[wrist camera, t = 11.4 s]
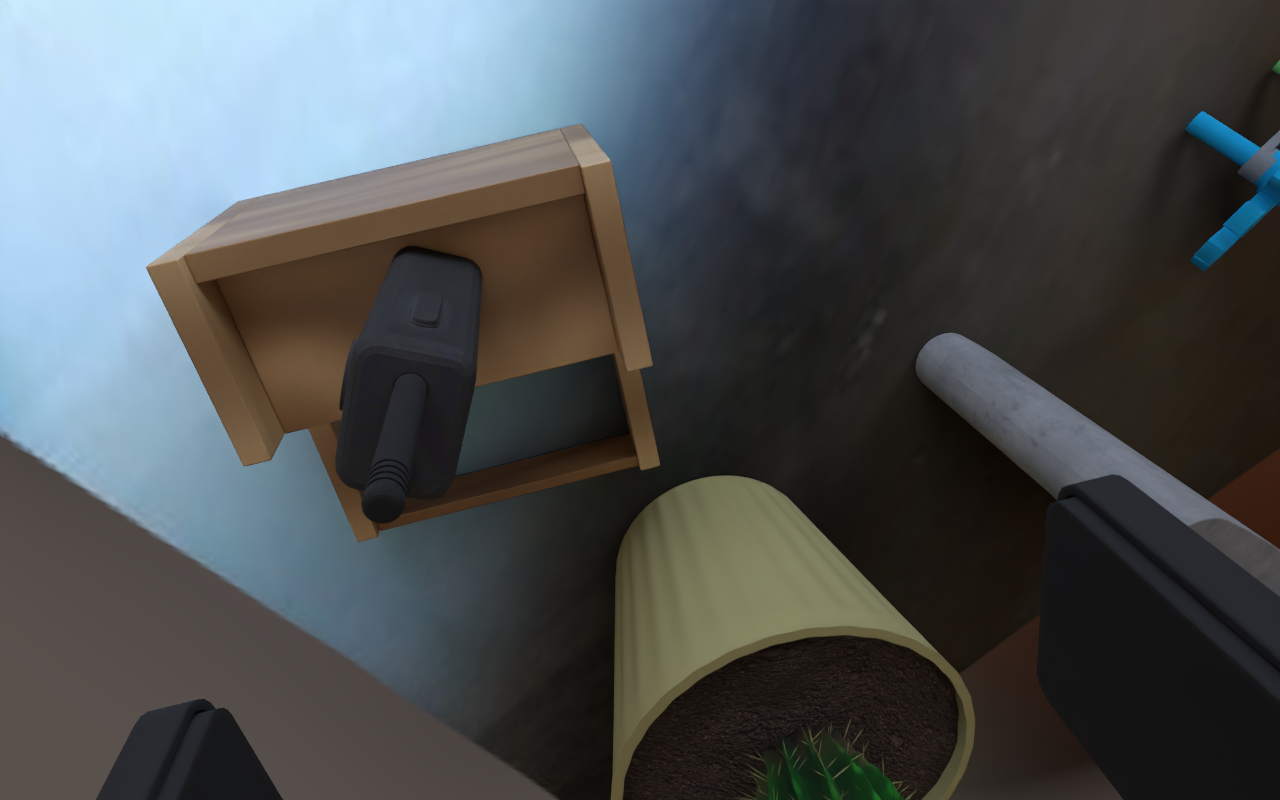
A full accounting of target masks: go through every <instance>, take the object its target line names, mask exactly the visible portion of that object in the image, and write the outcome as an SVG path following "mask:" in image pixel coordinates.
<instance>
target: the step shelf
mask: <svg viewBox="0 0 1280 800" xmlns="http://www.w3.org/2000/svg"><path fill="white" fill-rule="evenodd" d="M407 246H417V247H422V248H426V249H430V250H435V251H439V252H443V253H448V254H452V255H457V256H461V257H465V258H468V259H470V260H472V261H474V262H475V263H476V264H477V265H478V266H479V267H480V270H481V272H482V295H481V310H480V326H479V342H478V358H477V373H476V383H475V387H479V386H483V385H487V384H491V383H495V382H499V381H503V380H507V379H511V378H515V377H519V376H524V375H528V374H532V373H536V372H540V371H544V370H548V369H552V368H556V367H560V366H565V365H569V364H573V363H577V362H581V361H585V360H589V359H593V358H597V357H601V356H605V355H610V354H612V358H613V362H614V367H615V371H616V375H617V380H618V384H619V388H620V393H621V397H622V401H623V406H624V410H625V415H626V419H627V423H628V428H629V432H630V434H629V433H628V434H624V435H620V436H616V437H612V438H608V439H604V440H600V441H596V442H592V443H588V444H584V445H580V446H576V447H572V448H568V449H564V450H560V451H556V452H552V453H548V454H544V455H540V456H536V457H532V458H528V459H524V460H520V461H516V462H512V463H508V464H504V465H500V466H496V467H492V468H488V469H484V470H480V471H476V472H472V473H468V474H464V475H460V476H456V477H455V478H454V480H453V483H452V485H451V487H450V489H449V490H448V491H447V492H446V493H445V494H444V495H443V496H441V497H438V498H436V499H433V500H420V499H414V498H407V497H406V499H405V505H404V509H403V512H402V514H401V515H400V516H399V517H398V518H397V519H396V520H395V521H393V522H390V523H385V524H380V523H375V522H373V521H371V520H369V519H368V518H367V517H366V516H365V515H364V513H363V511H362V506H361V501H362V498H363V494H364V491H361V490H356V489H353V488H350V487H348V486H347V485H346V484H344V483H343V482H342V481H341V480H340V478H339V476H338V474H337V473H336V467H335V456H336V450H337V443H338V437H339V430H340V424H341V417H342V411H341V410H339V404H340V395H341V388H342V382H343V376H344V371H345V366H346V362H347V358H348V354H349V351H350V348H351V345H352V342H353V340H354V339H358V338H359V335H360V333H361V331H362V329H363V326H364V324H365V322H366V319H367V317H368V315H369V313H370V310H371V308H372V306H373V303H374V301H375V299H376V297H377V294H378V292H379V290H380V287H381V285H382V283H383V281H384V278H385V276H386V274H387V272H388V269H389V267H390V265H391V262H392V260H393V258H394V256H395V254H396V253H397V252H398V251H399V250H400V249H402V248H404V247H407ZM146 269H147V271H148V273H149V275H150V277H151V279H152V281H153V283H154V285H155V287H156V289H157V291H158V293H159V295H160V297H161V299H162V301H163V303H164V305H165V307H166V309H167V311H168V313H169V315H170V317H171V319H172V321H173V324H174V326H175V328H176V330H177V332H178V334H179V336H180V338H181V340H182V342H183V344H184V346H185V348H186V350H187V352H188V354H189V356H190V358H191V360H192V362H193V364H194V366H195V368H196V370H197V372H198V374H199V376H200V378H201V380H202V383H203V385H204V387H205V389H206V391H207V393H208V395H209V397H210V399H211V401H212V403H213V405H214V407H215V409H216V411H217V413H218V415H219V417H220V419H221V421H222V423H223V425H224V427H225V429H226V431H227V433H228V435H229V437H230V439H231V441H232V444H233V446H234V448H235V450H236V452H237V454H238V456H239V458H240V460H241V462H242V464H243V466H249V465H253V464H257V463H261V462H265V461H269V460H271V459H272V457H273V455H274V453H275V451H276V449H277V447H278V445H279V444H280V442H281V440H282V438H283V436H284V434H285V433H290V432H294V431H298V430H302V429H307V428H308V429H309V432H310V434H311V436H312V438H313V441H314V443H315V445H316V448H317V450H318V452H319V454H320V457H321V459H322V461H323V464H324V466H325V468H326V470H327V473H328V475H329V477H330V480H331V482H332V484H333V486H334V489H335V491H336V493H337V495H338V498H339V500H340V502H341V505H342V507H343V509H344V511H345V514H346V516H347V518H348V521H349V523H350V525H351V527H352V530H353V532H354V534H355V537H356V539H357V541H358V542H361V541H365V540H369V539H373V538H376V537H378V534H379V530H380V531H382V530H386V529H390V528H394V527H398V526H402V525H405V524H409V523H413V522H417V521H421V520H425V519H429V518H433V517H437V516H441V515H445V514H449V513H453V512H457V511H461V510H465V509H469V508H473V507H477V506H481V505H485V504H489V503H493V502H496V501H500V500H504V499H508V498H512V497H516V496H520V495H524V494H528V493H532V492H536V491H540V490H544V489H548V488H552V487H556V486H560V485H564V484H568V483H572V482H576V481H580V480H584V479H588V478H591V477H595V476H599V475H603V474H607V473H611V472H615V471H619V470H623V469H627V468H631V467H635V466H638V465H639V466H640V469H641V470H645V469H649V468H653V467H657V466H660V461H659V456H658V452H657V447H656V442H655V438H654V433H653V428H652V424H651V419H650V414H649V410H648V405H647V400H646V396H645V391H644V386H643V382H642V377H641V372H640V369H642V368H646V367H650V366H652V365H653V363H652V358H651V353H650V348H649V343H648V338H647V334H646V329H645V324H644V319H643V314H642V309H641V304H640V300H639V295H638V290H637V285H636V280H635V275H634V270H633V265H632V261H631V256H630V251H629V246H628V241H627V236H626V231H625V226H624V222H623V217H622V212H621V207H620V202H619V197H618V192H617V188H616V183H615V178H614V173H613V168H612V163H611V161H610V159H609V158H608V157H607V155H606V154H605V153H604V151H603V150H602V149H601V148H600V146H599V145H598V144H597V143H596V141H595V140H594V139H593V137H592V136H591V135H590V134H589V132H588V131H587V130H586V128H585V127H584V126H583V125H582V124H577V125H573V126H568V127H564V128H561V129H555V130H550V131H546V132H542V133H537V134H533V135H528V136H524V137H520V138H515V139H511V140H506V141H502V142H498V143H493V144H489V145H484V146H480V147H476V148H471V149H467V150H462V151H458V152H453V153H449V154H445V155H440V156H436V157H431V158H427V159H423V160H418V161H414V162H409V163H405V164H401V165H396V166H392V167H387V168H383V169H379V170H374V171H370V172H365V173H361V174H357V175H352V176H348V177H343V178H339V179H335V180H330V181H326V182H321V183H317V184H313V185H308V186H304V187H299V188H295V189H291V190H286V191H282V192H277V193H273V194H269V195H264V196H261V197H255V198H251V199H247V200H242V201H238V202H237V203H235V204H234V205H232V206H231V207H230V208H228V209H227V210H225V211H224V212H223V213H221V214H220V215H218V216H217V217H215V218H214V219H213V220H211V221H210V222H208V223H207V224H206V225H204V226H203V227H201V228H200V229H199V230H197V231H196V232H194V233H193V234H192V235H190V236H189V237H187V238H186V239H184V240H183V241H182V242H180V243H179V244H177V245H176V246H175V247H173V248H172V249H170V250H169V251H168V252H166V253H165V254H163V255H162V256H161V257H159V258H158V259H156V260H155V261H153V262H152V263H151V264H149V265H148V266H146Z"/></svg>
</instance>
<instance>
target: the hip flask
mask: <svg viewBox="0 0 1280 800" xmlns="http://www.w3.org/2000/svg"><path fill="white" fill-rule="evenodd" d="M916 373H917V376H918V378H919V380H920V381H921V382H922V383H923V384H924V385H925V386H927V387H928V388H929V389H930V390H931V391H932V392H933V393H935V394H936V395H937V396H938V397H939V398H940V399H942V400H943V401H944V402H945V403H946V404H947V405H948V406H950V407H951V408H952V409H953V410H954V411H955V412H957V413H958V414H959V415H960V416H961V417H962V418H963V419H965V420H966V421H967V422H968V423H969V424H970V425H972V426H973V427H974V428H975V429H976V430H977V431H978V432H980V433H981V434H982V435H983V436H984V437H985V438H987V439H988V440H989V441H990V442H991V443H992V444H993V445H995V446H996V447H997V448H998V449H999V450H1000V451H1002V452H1003V453H1004V454H1005V455H1006V456H1007V457H1008V458H1010V459H1011V460H1012V461H1013V462H1014V463H1015V464H1017V465H1018V466H1019V467H1020V468H1021V469H1022V470H1023V471H1025V472H1026V473H1027V474H1028V475H1029V476H1030V477H1032V478H1033V479H1034V480H1035V481H1036V482H1037V483H1038V484H1040V485H1041V486H1042V487H1043V488H1044V489H1045V490H1047V491H1048V492H1049V493H1050V494H1051V495H1052V496H1053V497H1054V498H1055V499H1056V500H1057V498H1058V493H1059V492H1060V490H1061V489H1062V487H1065V486H1067V485H1071V484H1075V483H1079V482H1083V481H1087V480H1091V479H1095V478H1099V477H1103V476H1107V475H1111V474H1114V475H1120V476H1122V477H1124V478H1125V479H1127V480H1129V481H1130V482H1131V483H1133V484H1134V485H1135V486H1136V487H1138V488H1139V489H1140V490H1142V491H1143V492H1144V493H1146V494H1147V495H1148V496H1149V497H1151V498H1152V499H1153V500H1155V501H1156V502H1157V503H1159V504H1160V505H1161V506H1162V507H1164V508H1165V509H1166V510H1168V511H1169V512H1170V513H1172V514H1173V515H1174V516H1175V517H1177V518H1178V519H1179V520H1181V521H1182V522H1183V523H1185V524H1186V525H1187V526H1188V527H1190V528H1191V529H1192V530H1194V531H1195V532H1196V533H1198V534H1199V535H1200V536H1202V537H1203V538H1204V539H1205V540H1207V541H1208V542H1209V543H1211V544H1212V545H1213V546H1215V547H1216V548H1217V549H1218V550H1220V551H1221V552H1222V553H1224V554H1225V555H1226V556H1228V557H1229V558H1230V559H1231V560H1233V561H1234V562H1235V563H1237V564H1238V565H1239V566H1241V567H1242V568H1243V569H1244V570H1246V571H1247V572H1248V573H1250V574H1251V575H1252V576H1254V577H1255V578H1256V579H1257V580H1259V581H1260V582H1261V583H1263V584H1264V585H1265V586H1267V587H1268V588H1269V589H1270V590H1272V591H1273V592H1274V593H1276V594H1277V595H1278V596H1280V550H1279V549H1278V548H1276V547H1275V546H1274V545H1272V544H1271V543H1269V542H1268V541H1266V540H1265V539H1263V538H1262V537H1260V536H1259V535H1257V534H1256V533H1254V532H1253V531H1252V530H1250V529H1249V528H1247V527H1246V526H1244V525H1243V524H1241V523H1240V522H1239V521H1237V520H1236V519H1234V518H1233V517H1231V516H1230V515H1228V514H1227V513H1225V512H1224V511H1222V510H1221V509H1219V508H1218V507H1217V506H1215V505H1214V504H1212V503H1211V502H1209V501H1208V500H1206V499H1205V498H1203V497H1202V496H1201V495H1199V494H1198V493H1196V492H1195V491H1193V490H1192V489H1190V488H1189V487H1187V486H1186V485H1184V484H1183V483H1182V482H1180V481H1179V480H1177V479H1176V478H1174V477H1173V476H1171V475H1170V474H1168V473H1167V472H1165V471H1164V470H1163V469H1161V468H1160V467H1158V466H1157V465H1155V464H1154V463H1152V462H1151V461H1149V460H1148V459H1146V458H1145V457H1144V456H1142V455H1141V454H1139V453H1138V452H1136V451H1135V450H1133V449H1132V448H1130V447H1129V446H1127V445H1126V444H1124V443H1123V442H1122V441H1120V440H1119V439H1117V438H1116V437H1114V436H1113V435H1111V434H1110V433H1108V432H1107V431H1105V430H1104V429H1103V428H1101V427H1100V426H1098V425H1097V424H1095V423H1094V422H1092V421H1091V420H1089V419H1088V418H1086V417H1085V416H1084V415H1082V414H1081V413H1079V412H1078V411H1076V410H1075V409H1073V408H1072V407H1070V406H1069V405H1067V404H1066V403H1065V402H1063V401H1062V400H1060V399H1059V398H1057V397H1056V396H1054V395H1053V394H1051V393H1050V392H1048V391H1047V390H1046V389H1044V388H1043V387H1041V386H1040V385H1038V384H1037V383H1035V382H1034V381H1032V380H1031V379H1029V378H1028V377H1027V376H1025V375H1024V374H1022V373H1021V372H1019V371H1018V370H1016V369H1015V368H1013V367H1012V366H1010V365H1009V364H1008V363H1006V362H1005V361H1003V360H1002V359H1000V358H999V357H997V356H996V355H994V354H993V353H991V352H990V351H988V350H986V349H985V348H983V347H981V346H980V345H978V344H976V343H975V342H973V341H971V340H969V339H967V338H965V337H964V336H962V335H959V334H956V333H945V334H941V335H938V336H936V337H934V338H933V339H931V340H930V341H929V342H928V343H926V344H925V345H924V347H923V348H922V349H921V351H920V353H919V355H918V357H917V360H916Z"/></svg>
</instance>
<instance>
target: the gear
mask: <svg viewBox="0 0 1280 800" xmlns="http://www.w3.org/2000/svg"><path fill="white" fill-rule="evenodd" d="M1272 71H1274V72H1276V73H1277V74H1279V75H1280V61H1279V62H1278V63H1277V64H1276V65H1275V66H1274V67H1273V68H1272ZM1185 130H1186V131H1188V132H1189V133H1191V134H1192V135H1194V136H1195V137H1197V138H1198V139H1200V140H1201V141H1203V142H1205V143H1206V144H1208V145H1209V146H1211V147H1212V148H1214V149H1215V150H1217V151H1218V152H1220V153H1221V154H1223V155H1224V156H1226V157H1228V158H1229V159H1231V160H1232V161H1234V162H1235V163H1237V164H1238V165H1240V166H1241V168H1240V169H1239V171H1238V172H1237V173H1238V174H1239V175H1241V176H1242V177H1244V178H1246V179H1247V180H1249V181H1250V182H1252V183H1253V184H1255V185H1256V186H1258V187H1259V188H1258V189H1257V190H1256V192H1257V194H1256V195H1255V196H1254V197H1253V198H1252V199H1251V200H1250V201H1247V202H1246V203H1245V204H1244V205H1243V206H1242V207H1241V208H1240V209H1239V210H1238V211H1236V212H1235V213H1234V214H1233V215H1232V216H1231V217H1230V218H1229V219H1228V220H1227V221H1226V222H1225V223H1224V224H1223V225H1224V227H1223V228H1222V229H1221V230H1220V231H1218V232H1217V233H1215V234H1214V235H1213V236H1212V237H1211V238H1210V239H1209V240H1208V241H1207V242H1206V243H1205V244H1204V245H1203V246H1202V247H1201V248H1200V249H1199V250H1198V251H1197V252H1196V253H1195V255H1194V256H1193V258H1192V259H1191V260H1190V262H1191V263H1193V264H1194V265H1196V266H1197V267H1198V268H1200V269H1201V270H1203V271H1205V270H1206V269H1207V268H1208V267H1209V266H1210V265H1212V264H1213V263H1214V262H1215V261H1216V260H1218V259H1219V258H1220V257H1221V256H1222V255H1223V254H1224V253H1225V252H1226V251H1227V250H1228V249H1229V248H1231V247H1232V246H1233V245H1234V244H1235V243H1236V242H1237V241H1238V240H1239V239H1240V238H1241V237H1243V236H1244V235H1245V234H1246V233H1247V232H1248V231H1249V230H1250V229H1251V228H1252V227H1254V226H1255V225H1256V224H1257V223H1258V222H1259V221H1260V220H1261V219H1262V218H1263V217H1264V216H1265V215H1266V214H1267V213H1268V212H1269V211H1270V210H1271V209H1272V208H1273V207H1274V206H1275V205H1277V206H1279V207H1280V151H1279V150H1278V149H1277V148H1278V147H1279V146H1280V131H1278V132H1277V133H1276V134H1275V135H1274V136H1273V137H1272V138H1271V139H1270V140H1269V141H1268V142H1267V143H1266V144H1264V145H1263V146H1262V147H1261V148H1260V147H1258V146H1257V145H1255V144H1254V143H1252V142H1250V141H1249V140H1247V139H1246V138H1244V137H1243V136H1241V135H1239V134H1238V133H1236V132H1235V131H1233V130H1232V129H1230V128H1228V127H1227V126H1225V125H1224V124H1222V123H1221V122H1219V121H1218V120H1216V119H1214V118H1213V117H1211V116H1210V115H1208V114H1207V113H1205V112H1203V111H1202V112H1201V113H1199V114H1198V115H1197V116H1196V117H1195V118H1194V119H1193V120H1192V121H1191V123H1190V124H1189V125H1188V126H1187V127H1186V129H1185Z"/></svg>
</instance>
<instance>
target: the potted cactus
mask: <svg viewBox="0 0 1280 800" xmlns="http://www.w3.org/2000/svg"><path fill="white" fill-rule="evenodd" d="M974 729H975V716H974V712H973V706H972V700H971V697H970V694H969V692H968V690H967V688H966V687H965V685H964V683H963V681H962V679H961V677H960V675H959V674H958V672H957V671H956V670H955V669H954V668H953V667H952V666H951V665H950V664H949V663H948V662H947V661H946V660H945V659H944V658H943V657H942V656H941V655H940V654H939V653H938V652H937V651H936V650H935V649H934V648H933V646H932V645H931V644H930V643H929V642H928V641H927V640H926V639H925V638H924V637H923V636H922V635H921V634H920V633H919V632H918V631H917V630H916V629H915V628H914V627H913V626H912V625H911V624H910V623H909V622H908V621H907V620H906V619H905V618H904V617H903V616H902V615H901V614H900V613H899V612H898V611H897V610H896V609H895V608H894V607H893V606H892V605H891V604H890V603H889V602H888V601H887V600H886V599H885V598H884V597H883V595H882V594H881V593H880V592H879V591H878V590H877V589H876V588H875V587H874V586H873V585H872V584H871V583H870V582H869V581H868V580H867V579H866V578H865V577H864V576H863V575H862V574H861V573H860V572H859V571H858V570H857V569H856V568H855V567H854V566H853V564H852V563H851V562H850V561H849V560H848V559H847V558H846V557H845V556H844V555H843V554H842V553H841V552H840V551H839V550H838V549H837V548H836V547H835V546H834V545H833V544H832V543H831V542H830V541H829V540H828V539H827V538H826V537H825V535H824V534H823V533H822V532H821V531H820V530H819V529H818V528H817V527H816V526H815V525H814V524H813V523H812V522H811V521H810V520H809V519H808V518H807V517H806V516H805V515H804V514H803V513H802V512H801V511H800V510H799V509H798V507H796V506H795V505H794V503H793V502H792V501H791V500H790V499H789V498H788V497H787V496H786V495H783V494H782V493H781V492H779V491H778V490H776V489H775V488H773V487H771V486H770V485H768V484H765V483H763V482H760V481H757V480H754V479H751V478H746V477H740V476H711V477H706V478H701V479H696V480H693V481H690V482H687V483H684V484H682V485H679V486H677V487H675V488H673V489H671V490H669V491H667V492H666V493H664V494H662V495H661V496H659V497H658V498H656V499H655V500H654V501H653V502H651V503H650V504H649V505H648V506H647V507H646V508H644V509H643V510H642V511H641V513H640V514H639V515H638V516H637V517H636V518H635V520H634V521H633V522H632V524H631V525H630V527H629V528H628V530H627V532H626V534H625V536H624V538H623V540H622V543H621V546H620V549H619V553H618V557H617V560H616V575H615V667H614V740H613V778H612V793H611V800H948V799H949V797H950V796H951V794H952V793H953V791H954V789H955V788H956V786H957V784H958V782H959V781H960V779H961V777H962V775H963V774H964V772H965V769H966V766H967V763H968V760H969V757H970V754H971V751H972V748H973V743H974V731H975V730H974Z"/></svg>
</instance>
